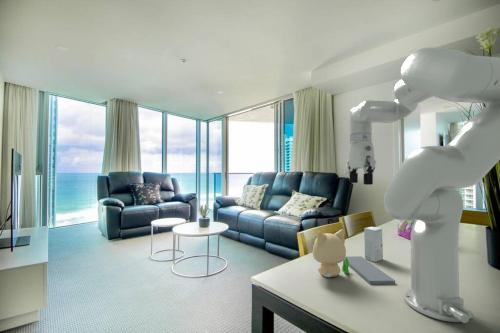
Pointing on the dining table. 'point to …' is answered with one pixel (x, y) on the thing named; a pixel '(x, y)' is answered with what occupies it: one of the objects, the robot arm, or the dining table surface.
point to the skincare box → (373, 244)
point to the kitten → (330, 253)
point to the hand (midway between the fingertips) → (360, 183)
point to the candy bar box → (405, 228)
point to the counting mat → (368, 271)
